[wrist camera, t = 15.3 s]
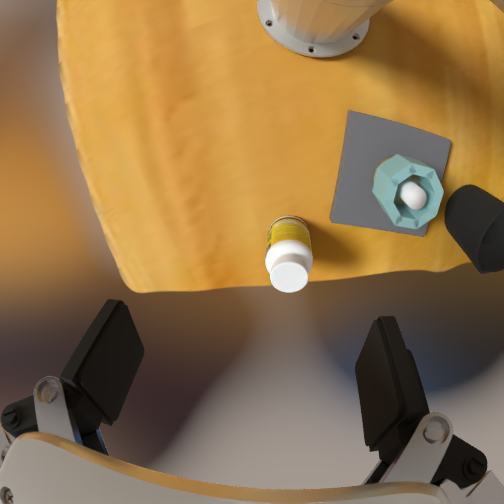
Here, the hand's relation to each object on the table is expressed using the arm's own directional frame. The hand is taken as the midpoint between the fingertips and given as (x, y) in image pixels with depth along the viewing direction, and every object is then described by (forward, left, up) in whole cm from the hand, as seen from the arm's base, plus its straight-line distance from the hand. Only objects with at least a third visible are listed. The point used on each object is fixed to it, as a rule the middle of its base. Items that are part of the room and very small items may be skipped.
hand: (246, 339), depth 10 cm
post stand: (-1, +15, -26) cm, 30 cm away
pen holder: (+1, +29, -26) cm, 40 cm away
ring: (-1, +15, -23) cm, 27 cm away
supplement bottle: (+9, +3, -26) cm, 28 cm away
